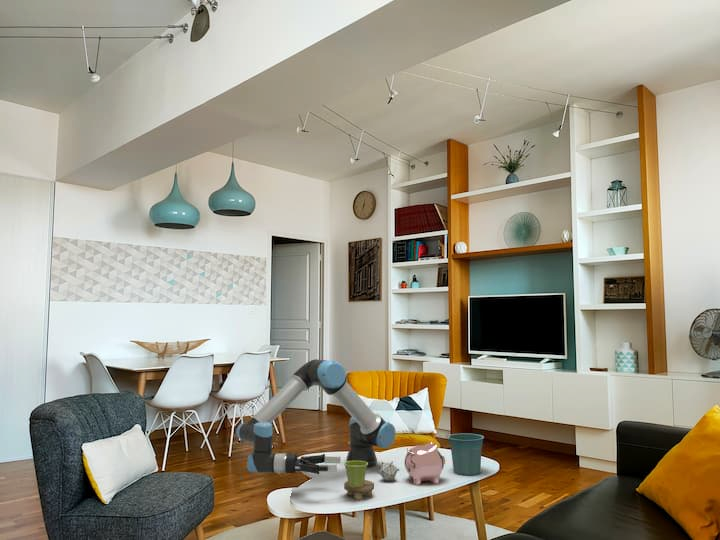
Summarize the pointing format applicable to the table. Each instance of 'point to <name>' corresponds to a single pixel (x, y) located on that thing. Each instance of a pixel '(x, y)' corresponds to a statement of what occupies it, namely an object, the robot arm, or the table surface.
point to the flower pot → (466, 453)
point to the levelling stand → (359, 489)
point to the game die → (388, 471)
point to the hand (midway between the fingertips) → (338, 464)
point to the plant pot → (356, 473)
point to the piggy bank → (424, 463)
